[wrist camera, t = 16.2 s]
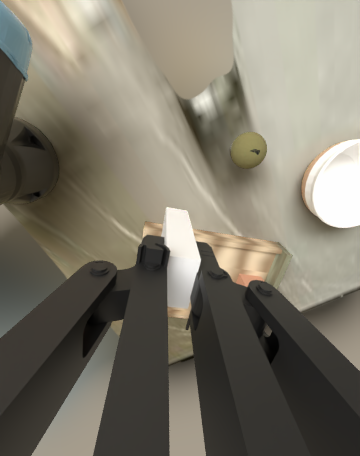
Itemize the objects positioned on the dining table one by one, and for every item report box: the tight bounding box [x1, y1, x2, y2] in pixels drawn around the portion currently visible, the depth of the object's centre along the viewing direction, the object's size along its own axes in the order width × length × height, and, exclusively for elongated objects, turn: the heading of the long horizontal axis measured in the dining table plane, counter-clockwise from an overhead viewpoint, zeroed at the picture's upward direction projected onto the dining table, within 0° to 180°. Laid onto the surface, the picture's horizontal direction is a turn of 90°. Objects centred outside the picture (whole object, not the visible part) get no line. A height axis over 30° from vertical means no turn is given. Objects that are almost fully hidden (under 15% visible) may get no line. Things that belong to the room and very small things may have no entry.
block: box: [236, 274, 264, 287], centre depth 50 cm, size 6×6×4 cm
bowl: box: [301, 139, 360, 228], centre depth 42 cm, size 16×16×8 cm
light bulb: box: [230, 132, 267, 169], centre depth 37 cm, size 6×6×10 cm
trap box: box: [142, 222, 292, 319], centre depth 50 cm, size 31×22×6 cm
